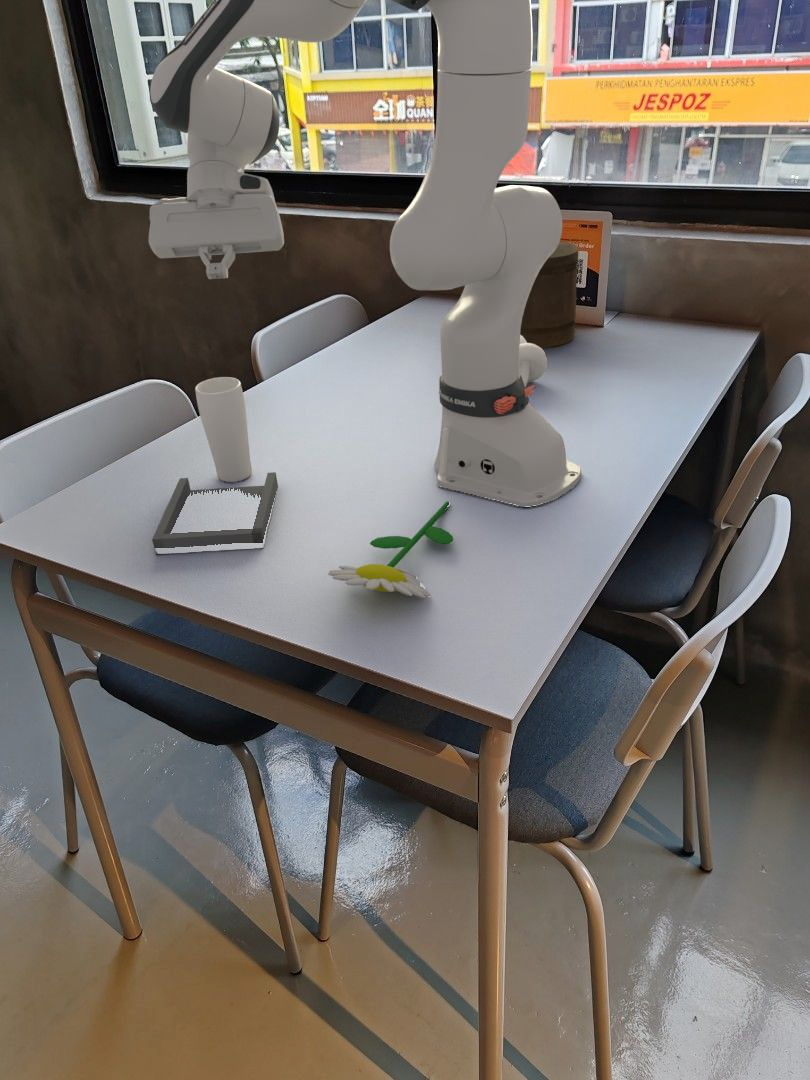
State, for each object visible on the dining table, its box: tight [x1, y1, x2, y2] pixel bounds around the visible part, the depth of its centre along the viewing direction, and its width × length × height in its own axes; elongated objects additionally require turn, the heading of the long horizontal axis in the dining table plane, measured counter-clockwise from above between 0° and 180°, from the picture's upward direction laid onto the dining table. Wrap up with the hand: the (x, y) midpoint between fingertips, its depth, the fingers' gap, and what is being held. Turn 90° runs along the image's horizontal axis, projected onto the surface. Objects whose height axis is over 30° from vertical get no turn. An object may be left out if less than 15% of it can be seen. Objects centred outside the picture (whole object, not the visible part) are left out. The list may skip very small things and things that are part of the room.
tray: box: [151, 471, 279, 548], centre depth 116 cm, size 17×14×2 cm
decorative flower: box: [327, 501, 454, 599], centre depth 104 cm, size 13×5×30 cm
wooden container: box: [520, 240, 579, 349], centre depth 169 cm, size 15×15×22 cm
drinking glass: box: [194, 376, 253, 483], centre depth 124 cm, size 7×7×15 cm
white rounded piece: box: [519, 335, 548, 388], centre depth 150 cm, size 11×12×9 cm
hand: (217, 276), depth 124 cm, fingers closed
